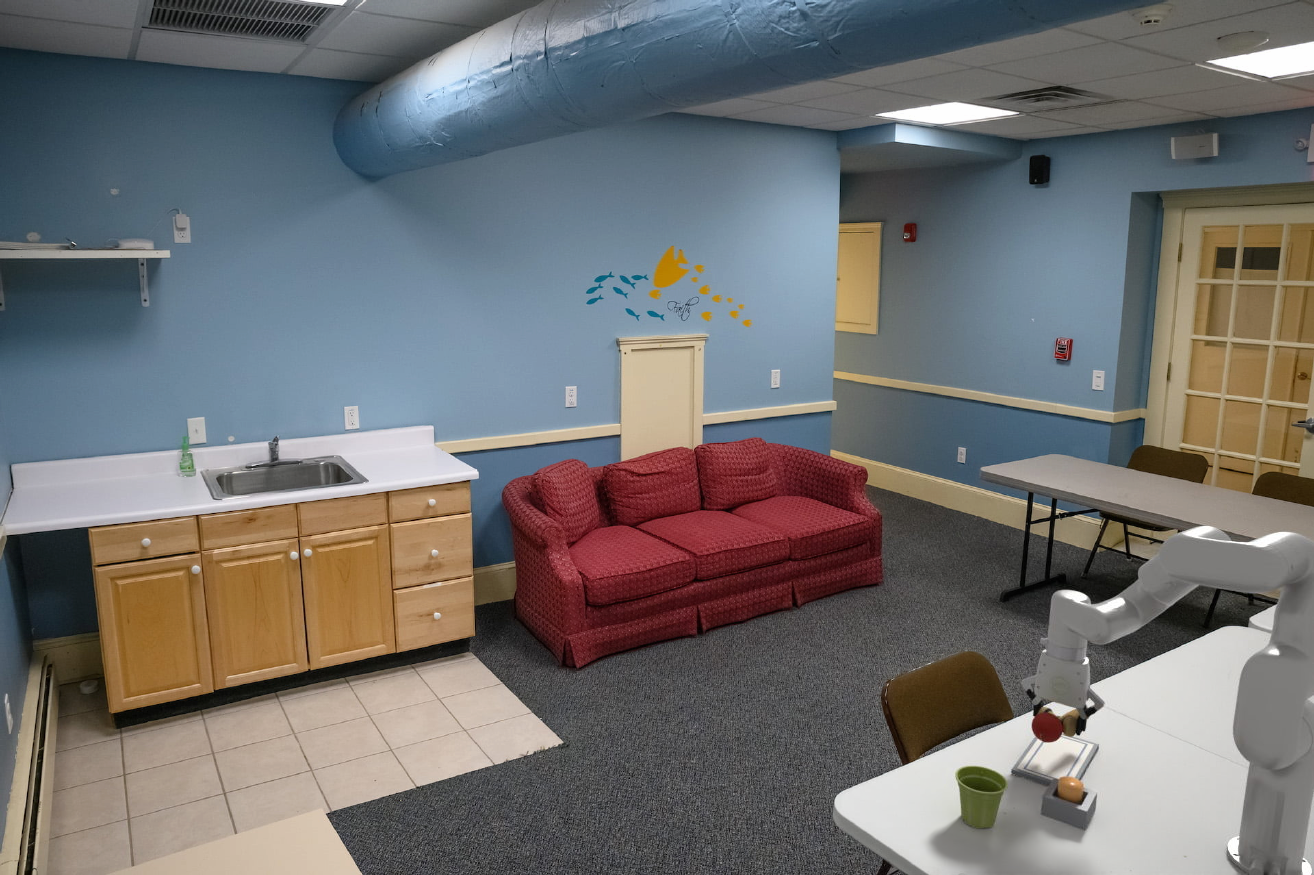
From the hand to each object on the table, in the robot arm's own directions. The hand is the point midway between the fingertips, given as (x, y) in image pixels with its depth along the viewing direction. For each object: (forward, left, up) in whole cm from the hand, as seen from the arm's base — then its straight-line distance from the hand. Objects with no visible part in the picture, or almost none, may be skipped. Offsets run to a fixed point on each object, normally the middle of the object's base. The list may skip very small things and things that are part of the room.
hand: (1058, 726), depth 192 cm
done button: (-18, -7, -5) cm, 20 cm away
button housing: (-18, -7, -8) cm, 21 cm away
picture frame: (0, 0, -8) cm, 8 cm away
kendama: (0, 0, -1) cm, 2 cm away
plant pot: (-31, +6, -8) cm, 33 cm away
